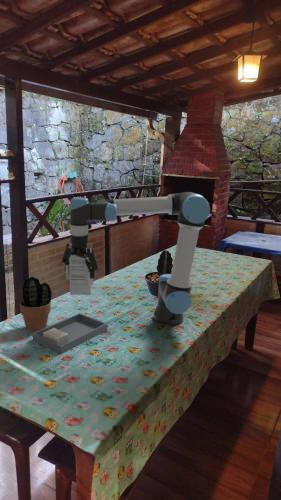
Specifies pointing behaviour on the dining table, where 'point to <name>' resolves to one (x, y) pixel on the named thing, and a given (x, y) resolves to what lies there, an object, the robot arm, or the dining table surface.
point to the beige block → (56, 336)
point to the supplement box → (79, 276)
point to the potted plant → (35, 304)
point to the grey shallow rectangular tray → (72, 332)
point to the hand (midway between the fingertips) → (79, 281)
